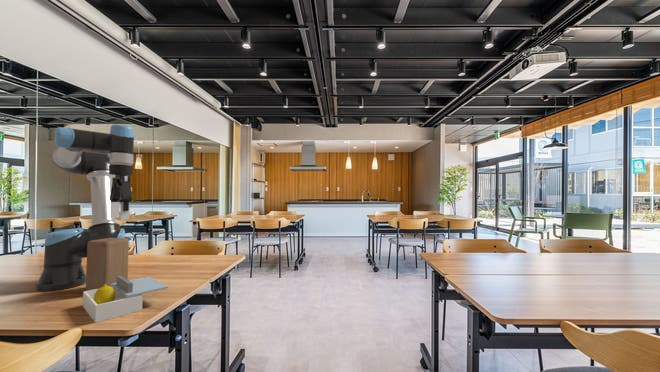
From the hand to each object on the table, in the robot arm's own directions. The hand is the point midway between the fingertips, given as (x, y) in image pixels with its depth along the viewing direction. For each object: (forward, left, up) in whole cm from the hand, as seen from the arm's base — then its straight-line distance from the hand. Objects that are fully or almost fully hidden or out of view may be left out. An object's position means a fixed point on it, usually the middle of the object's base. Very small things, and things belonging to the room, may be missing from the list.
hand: (119, 219), depth 109 cm
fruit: (+16, -7, -28) cm, 33 cm away
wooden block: (-10, -1, -29) cm, 31 cm away
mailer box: (+16, -5, -29) cm, 33 cm away
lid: (+16, +3, -23) cm, 28 cm away
